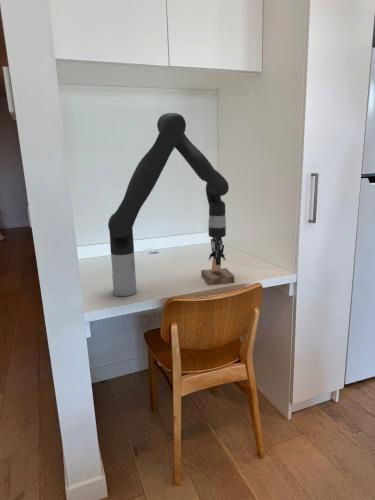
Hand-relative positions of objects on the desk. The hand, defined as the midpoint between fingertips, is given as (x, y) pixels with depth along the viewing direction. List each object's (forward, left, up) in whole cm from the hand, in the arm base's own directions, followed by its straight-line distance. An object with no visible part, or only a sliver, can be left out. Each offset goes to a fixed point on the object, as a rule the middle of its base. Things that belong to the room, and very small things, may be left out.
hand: (217, 263), depth 153 cm
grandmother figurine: (0, 0, -4) cm, 4 cm away
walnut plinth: (0, 0, -8) cm, 8 cm away
